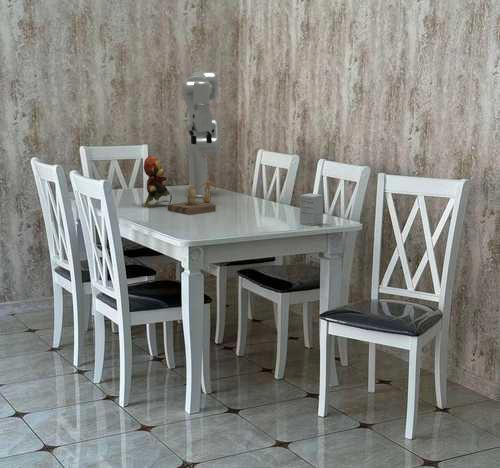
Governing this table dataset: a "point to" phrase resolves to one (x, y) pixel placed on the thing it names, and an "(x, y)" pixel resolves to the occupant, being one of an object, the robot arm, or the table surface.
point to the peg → (191, 195)
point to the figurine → (207, 197)
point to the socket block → (191, 208)
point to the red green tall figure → (155, 181)
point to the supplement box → (311, 209)
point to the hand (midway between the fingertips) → (201, 143)
